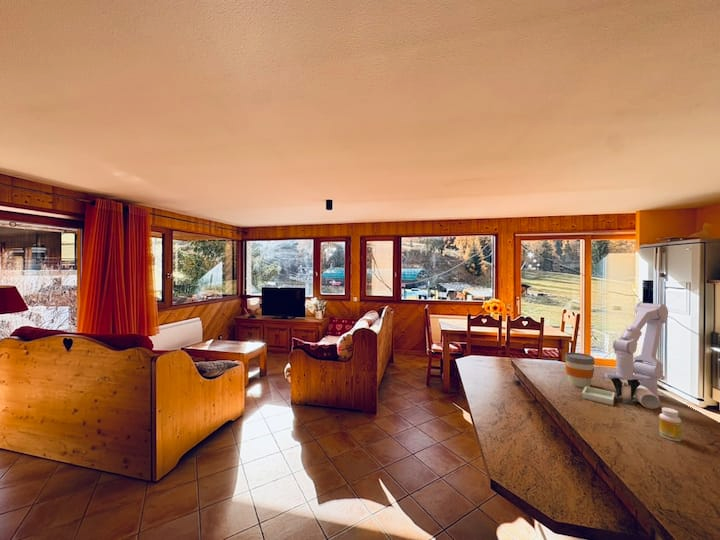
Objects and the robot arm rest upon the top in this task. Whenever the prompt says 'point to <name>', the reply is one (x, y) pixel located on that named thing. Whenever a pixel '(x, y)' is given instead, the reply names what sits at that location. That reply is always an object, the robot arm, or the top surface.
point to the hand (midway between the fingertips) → (625, 395)
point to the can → (646, 397)
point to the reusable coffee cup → (579, 369)
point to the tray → (598, 395)
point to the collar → (631, 402)
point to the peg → (626, 392)
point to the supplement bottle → (670, 424)
